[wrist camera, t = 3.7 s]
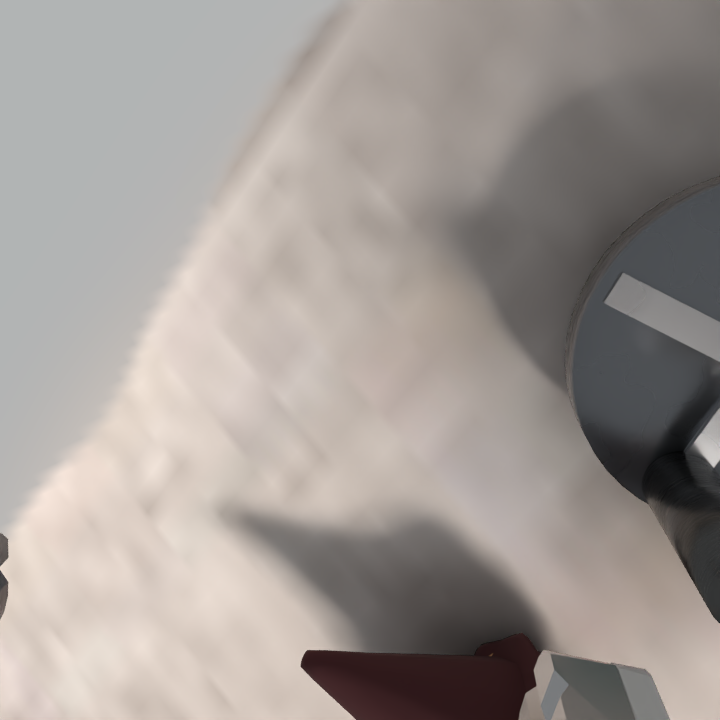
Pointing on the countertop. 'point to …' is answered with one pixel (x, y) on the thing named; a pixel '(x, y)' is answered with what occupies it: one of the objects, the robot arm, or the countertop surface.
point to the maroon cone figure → (429, 682)
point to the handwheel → (658, 372)
